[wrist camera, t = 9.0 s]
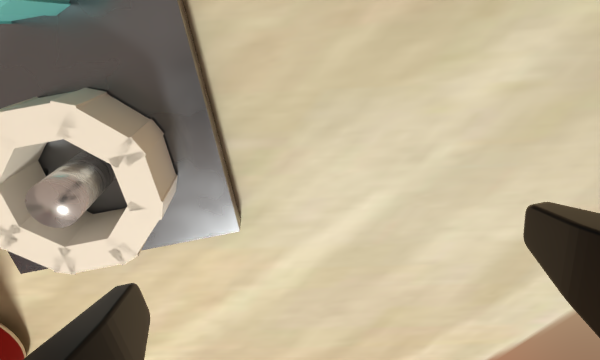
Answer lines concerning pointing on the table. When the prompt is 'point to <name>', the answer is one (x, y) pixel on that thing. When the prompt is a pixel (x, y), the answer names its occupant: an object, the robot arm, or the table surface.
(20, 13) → the teal blocky piece
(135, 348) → the robot arm
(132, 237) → the cream gear
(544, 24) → the table surface
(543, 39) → the table surface
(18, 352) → the soda can
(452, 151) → the table surface
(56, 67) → the gear board
